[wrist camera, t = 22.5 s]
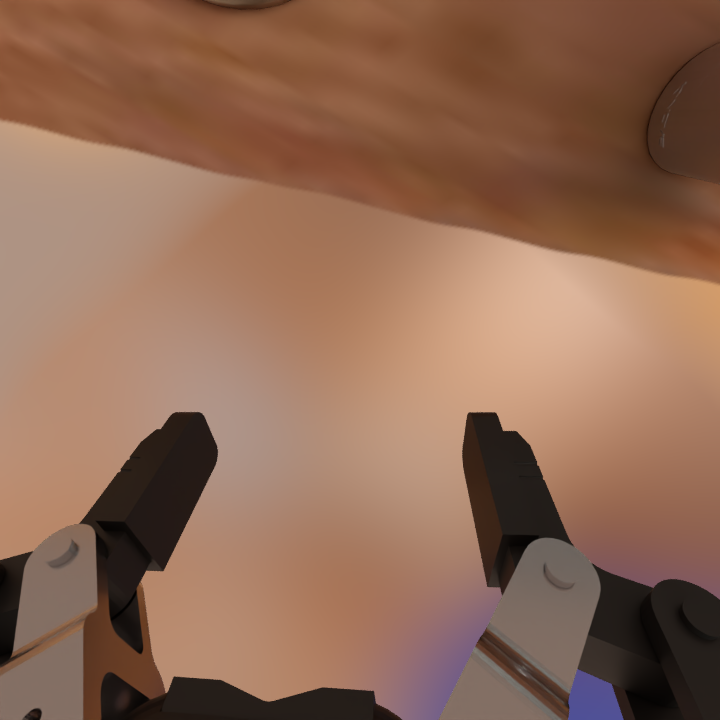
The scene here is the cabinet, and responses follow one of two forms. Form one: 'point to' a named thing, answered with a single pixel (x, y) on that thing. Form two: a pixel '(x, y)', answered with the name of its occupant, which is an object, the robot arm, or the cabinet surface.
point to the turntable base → (247, 3)
